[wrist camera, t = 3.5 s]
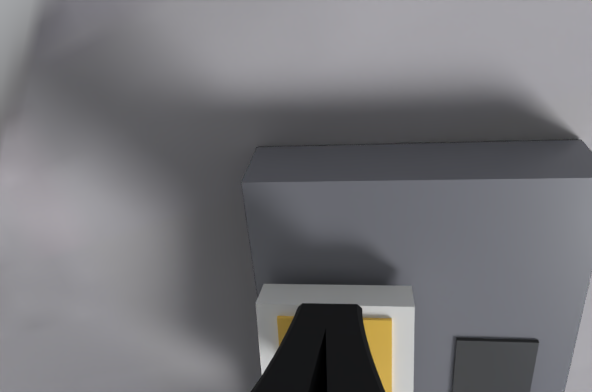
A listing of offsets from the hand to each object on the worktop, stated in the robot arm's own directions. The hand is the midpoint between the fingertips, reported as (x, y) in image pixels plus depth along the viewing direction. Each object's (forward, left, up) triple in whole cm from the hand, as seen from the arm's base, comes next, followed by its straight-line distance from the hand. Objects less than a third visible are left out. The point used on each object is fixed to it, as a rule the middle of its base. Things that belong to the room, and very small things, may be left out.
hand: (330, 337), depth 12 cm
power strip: (-7, -2, -4) cm, 9 cm away
